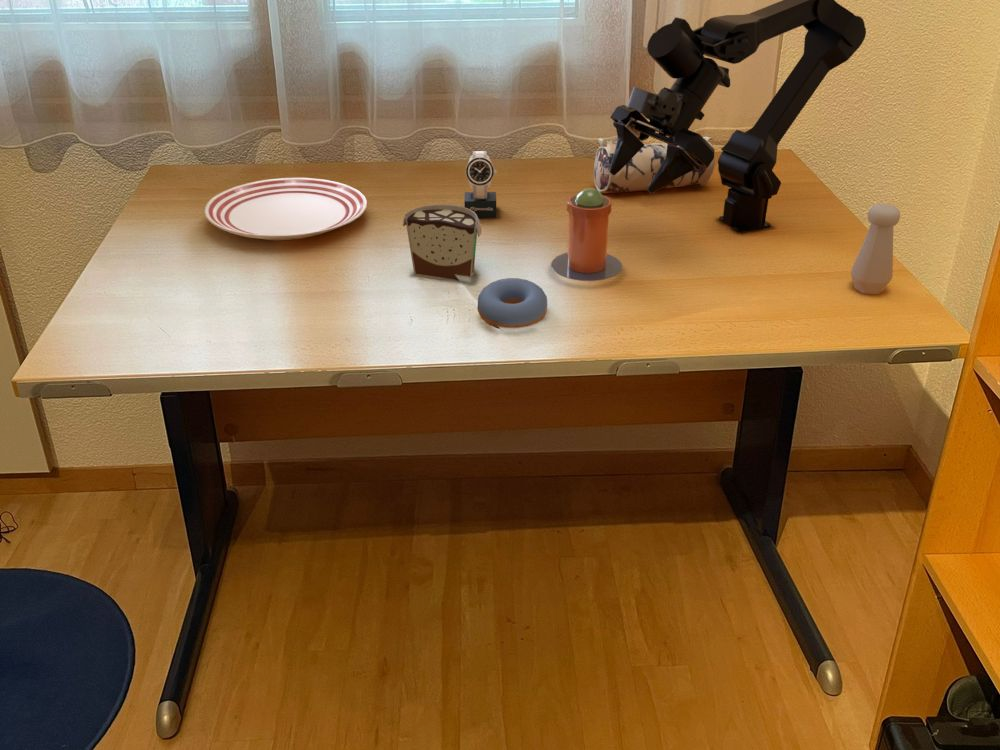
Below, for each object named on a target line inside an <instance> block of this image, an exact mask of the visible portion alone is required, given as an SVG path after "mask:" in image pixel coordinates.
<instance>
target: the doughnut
mask: <svg viewBox="0 0 1000 750" xmlns="http://www.w3.org/2000/svg"><path fill="white" fill-rule="evenodd" d="M476 309H477V312H478V314H479V317H480V318H481V320H482V321H484V322H485V323H486V324H487V325H489V326H491V327H493V328H495V329H496V330H497V329H498V330H501V327H503V328H523V327H527V326H531V325H534V324H537V323H538V322H539V321H541V320H542V319H543V318H544V317H545V315H546V313H547V310H548V297H547V295H546V293H545V291H544V290H543V288H542V287H540V286H539V285H538V284H537V283H535V282H534V281H531V280H528V279H524V278H519V277H506V278H501V279H497V280H495V281H492V282H490V283H488V284H487V285H486V286H485V287H483V288H482V290H481V291H480V292H479V294H478V296H477V307H476Z"/></svg>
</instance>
